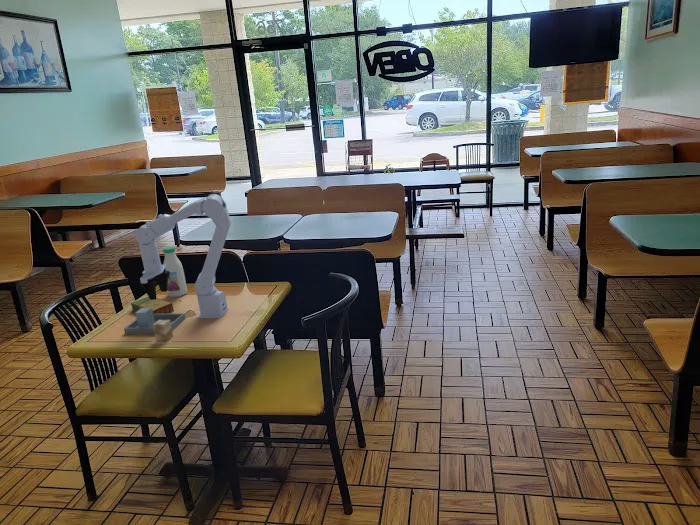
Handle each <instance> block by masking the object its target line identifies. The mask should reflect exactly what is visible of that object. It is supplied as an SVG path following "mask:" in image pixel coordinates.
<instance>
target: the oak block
mask: <svg viewBox="0 0 700 525" xmlns="http://www.w3.org/2000/svg"><path fill="white" fill-rule="evenodd" d="M153 330H154V334H153V335H154V338H155V339H156V342H167V341H168V340H170V339H171V338H172V337H173V334H174V333H173V331H172V328H171V323H170V320H158V321H157V322H156V323H154V324H153ZM155 339H154V340H155Z"/></svg>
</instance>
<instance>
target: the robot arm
mask: <svg viewBox="0 0 700 525" xmlns="http://www.w3.org/2000/svg"><path fill="white" fill-rule="evenodd" d="M193 215H200V216H201V215H202V216H203V215H206V217H208V218H209V219H210V220H212V222H213V224H214V225H215V228H214V232H213V236H212V239H211V242H210V245H209V248H208V251H207V255H206V258H205V261H204V264H203V267H202V270H201V272H200V273H199V274H198V276H197V279H196V281H195V283H194V284H193V285H194V291H195V292H196V297H197V301H198V302H197V303H198V308H199V312H200V313H199V314H198V315H197V316H196V319H221V318H222V317H223V316H224V315H225V314H226V313H227V312H228V311H229V310H230V309H229V308H228V303H227V297H226V293H225V292H224V291H220V290H218V289H217V287H216V286H215V285H214V284H215V283H216V271H217V267H218V265H219V261H220V259H221V256H222V251H223V249H224V247H225V243H226V239H227V237H228V233H229V230H230V227H231V224H232V223H231V222H232V221H231V218H230V214H229V211H228V207H227V203H226V202H225V200H224V199H223V197H222V196H220V195H219V194H217V193H210V194H209V195H208V196H205V197H201V198H199V199H197V200H195V201H193V202H191V203H189V204H188V205H186V206H184V207H183V208H181V209H179V210H177V211H176V212H174V213H173V214H167V213H164V214H162V213H160V214H158V215H157V218H155V219H154V220H153V219H152V220H151V221H149V220H148V221H147V222H145V224H143V225H141V226H139V228H138V229H137V230H136V232H135V235H134V236H135V238H134V239H135V240H136V241H137V242H138V244H139V251H140V255H141V260H142V265H143V268H144V270H143V271H142V273H141V274H143V275H142V276H141V277H140V278H139V280H140V281H139V286H140V287H141V288H142V289H143V290H144V291H145V292H146V294H147V297H149V298H150V300H156V298H157V290H156V289H157V284H158V286H159V287H158V288H159V289H160V290H159V291H160V292H162V293H163V292H165V293H167V284H168V278H169V275H170V271H166V270H167V265H166V264H164V263H163V264H162V262H161V258H160V252H159V248H158V245H157V244H158V243H157V240H156V239H157V238H158V237H159V238H160V237H161V236H163V235H164V234H166V233H168V232H170V231H172V230H173V229H175V227H176V224H177V223H179V222H180V221H183V220H185V219H188V217H191V216H193ZM154 278H155V279H156V280H152V279H154Z"/></svg>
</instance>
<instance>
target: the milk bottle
mask: <svg viewBox="0 0 700 525" xmlns="http://www.w3.org/2000/svg"><path fill="white" fill-rule="evenodd" d="M162 252H163V255H164V260H163V264H166V265H167V270H166V271H170V275H169V278H168V284H167V291H166V293H167V295H168V297H170V298H179V297H183V296H185V295H186V294H187V293H188V288H187V283H186V276H185V271H184V268H183V265H182V262H181V261H180V259H179V258H178V257H177V254H176V248H175V246H165V247H164V248H163V249H162ZM184 294H185V295H184ZM182 295H183V296H182Z"/></svg>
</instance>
